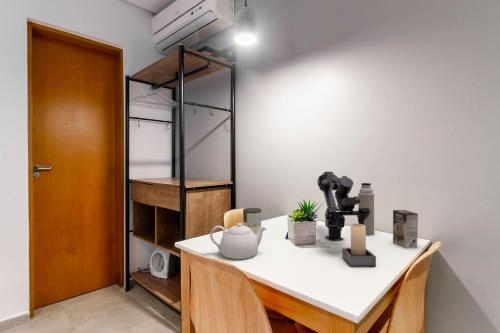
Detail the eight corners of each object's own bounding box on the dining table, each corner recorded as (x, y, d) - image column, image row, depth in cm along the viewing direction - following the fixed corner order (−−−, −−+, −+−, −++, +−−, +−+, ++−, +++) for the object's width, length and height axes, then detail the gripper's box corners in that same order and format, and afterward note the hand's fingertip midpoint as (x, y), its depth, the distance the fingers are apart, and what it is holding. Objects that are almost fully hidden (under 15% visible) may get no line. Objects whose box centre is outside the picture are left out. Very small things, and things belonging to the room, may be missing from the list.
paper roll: (348, 259, 106) (347, 225, 106) (354, 256, 110) (354, 222, 110) (361, 263, 102) (361, 227, 102) (368, 259, 106) (368, 224, 106)
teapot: (240, 244, 131) (239, 216, 131) (267, 253, 118) (267, 222, 118) (209, 254, 118) (208, 223, 118) (236, 265, 105) (236, 231, 105)
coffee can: (239, 235, 146) (239, 210, 146) (250, 231, 154) (249, 207, 154) (254, 238, 140) (254, 212, 140) (265, 233, 148) (264, 208, 148)
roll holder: (342, 257, 111) (342, 248, 111) (365, 257, 111) (365, 248, 111) (350, 267, 101) (350, 256, 101) (375, 266, 101) (375, 256, 101)
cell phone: (284, 239, 138) (284, 238, 138) (287, 232, 151) (287, 231, 151) (299, 240, 136) (299, 239, 136) (300, 233, 150) (300, 232, 150)
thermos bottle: (358, 231, 151) (357, 182, 151) (373, 232, 149) (373, 182, 148) (358, 234, 144) (358, 183, 143) (375, 236, 141) (374, 183, 140)
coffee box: (392, 242, 130) (392, 209, 130) (404, 241, 131) (404, 209, 131) (405, 248, 121) (405, 213, 121) (418, 247, 122) (418, 213, 122)
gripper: (326, 190, 117) (334, 220, 107) (368, 189, 117) (380, 220, 107) (321, 204, 126) (328, 234, 115) (361, 204, 125) (371, 233, 115)
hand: (352, 230), depth 113 cm, fingers open, 9 cm apart
